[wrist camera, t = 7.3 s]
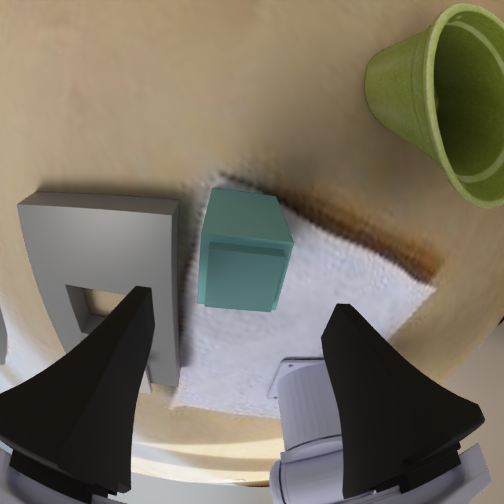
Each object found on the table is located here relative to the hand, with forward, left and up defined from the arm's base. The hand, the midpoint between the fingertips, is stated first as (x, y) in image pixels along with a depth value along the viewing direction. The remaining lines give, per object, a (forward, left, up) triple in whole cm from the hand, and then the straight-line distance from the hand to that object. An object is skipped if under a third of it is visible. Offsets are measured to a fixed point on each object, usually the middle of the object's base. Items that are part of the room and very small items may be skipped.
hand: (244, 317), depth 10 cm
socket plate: (+10, +8, -9) cm, 16 cm away
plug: (0, 0, -9) cm, 9 cm away
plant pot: (-9, -11, -9) cm, 17 cm away
